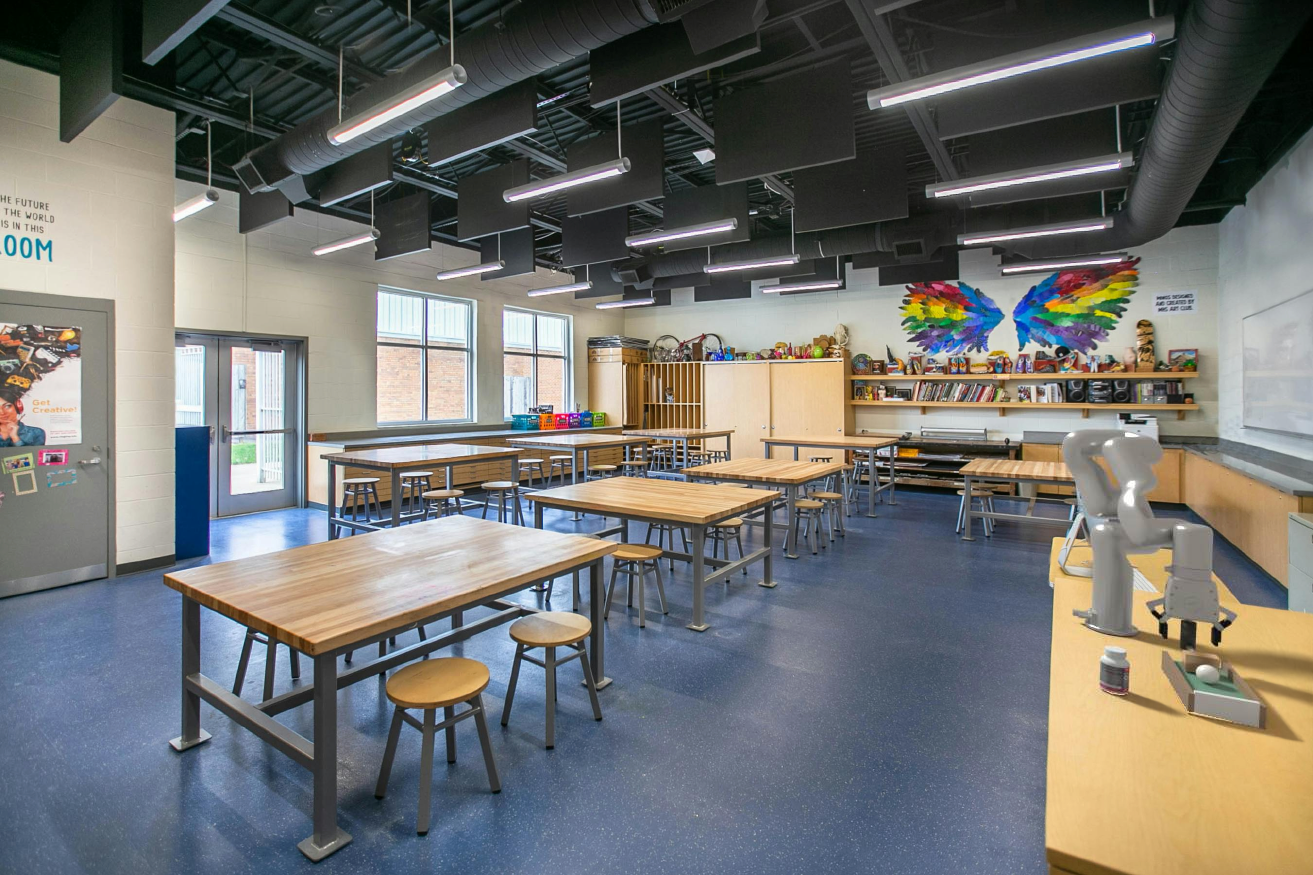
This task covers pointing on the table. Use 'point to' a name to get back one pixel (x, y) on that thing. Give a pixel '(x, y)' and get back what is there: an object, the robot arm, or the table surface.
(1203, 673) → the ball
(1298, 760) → the table surface
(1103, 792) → the table surface
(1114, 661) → the pill bottle
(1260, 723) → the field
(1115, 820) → the table surface
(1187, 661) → the striker
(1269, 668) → the table surface
